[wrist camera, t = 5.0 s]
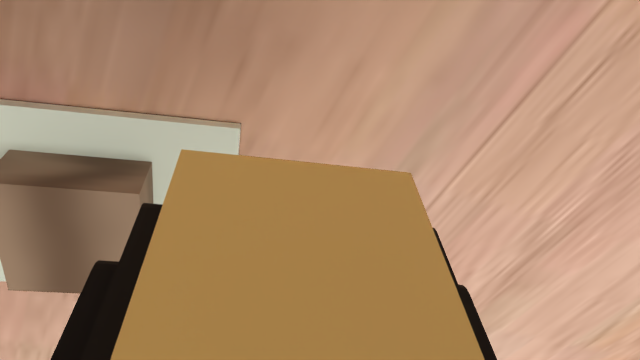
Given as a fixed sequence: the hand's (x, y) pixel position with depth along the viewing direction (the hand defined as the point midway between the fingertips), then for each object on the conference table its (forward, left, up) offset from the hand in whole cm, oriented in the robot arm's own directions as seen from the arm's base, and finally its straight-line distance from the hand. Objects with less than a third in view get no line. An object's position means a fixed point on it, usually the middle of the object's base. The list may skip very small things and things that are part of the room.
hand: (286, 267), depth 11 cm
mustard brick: (0, 0, -1) cm, 1 cm away
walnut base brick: (+9, +10, -14) cm, 20 cm away
